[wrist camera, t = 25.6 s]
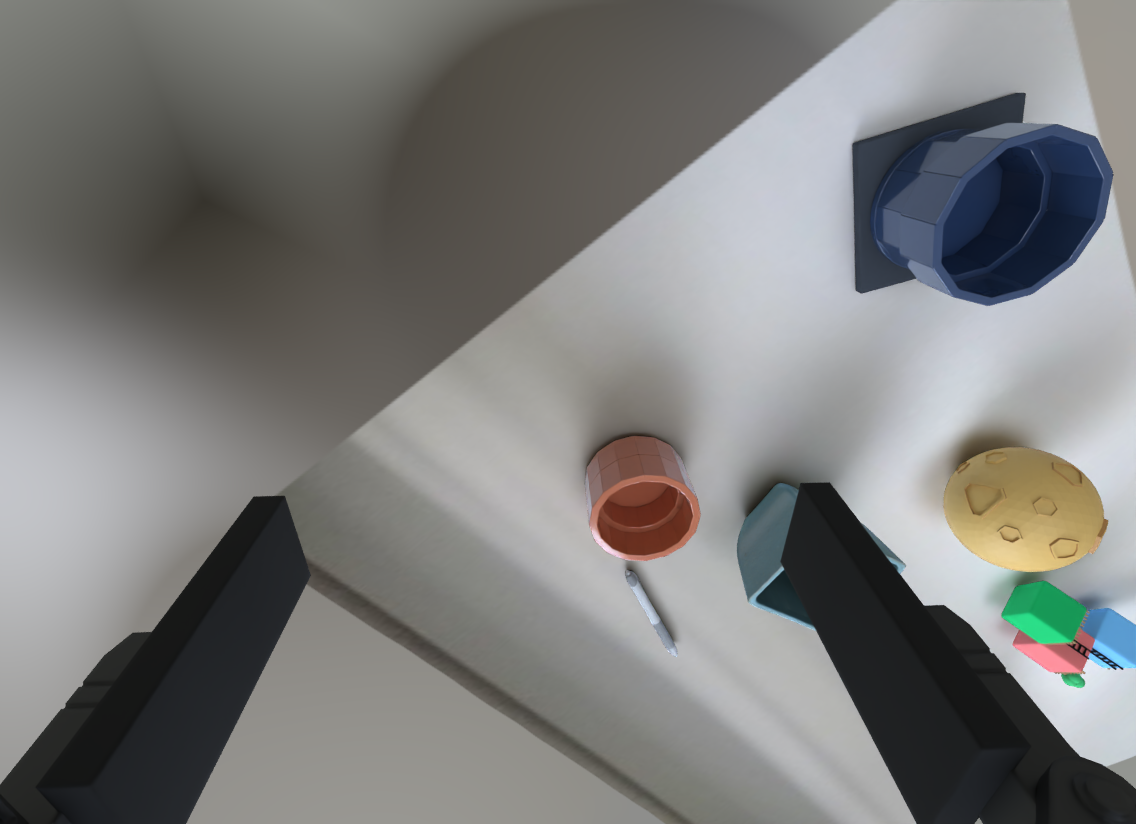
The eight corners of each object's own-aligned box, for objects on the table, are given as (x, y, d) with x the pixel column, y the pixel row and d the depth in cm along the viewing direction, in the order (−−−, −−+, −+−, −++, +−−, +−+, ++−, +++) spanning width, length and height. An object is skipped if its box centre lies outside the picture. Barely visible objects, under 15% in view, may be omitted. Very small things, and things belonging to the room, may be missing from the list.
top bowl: (864, 150, 34) (937, 159, 27) (1016, 103, 33) (1128, 102, 27) (866, 287, 38) (930, 322, 32) (1001, 249, 37) (1093, 278, 31)
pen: (630, 562, 51) (632, 573, 50) (679, 647, 58) (682, 659, 57) (620, 565, 52) (622, 577, 50) (670, 650, 58) (673, 662, 57)
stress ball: (1032, 495, 49) (1137, 578, 40) (921, 528, 51) (999, 615, 42) (1036, 407, 45) (1155, 479, 36) (914, 446, 46) (1000, 525, 37)
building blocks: (1004, 562, 60) (1119, 638, 56) (973, 621, 57) (1091, 705, 54) (1060, 548, 53) (1196, 634, 49) (1027, 615, 50) (1168, 711, 47)
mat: (852, 143, 34) (858, 143, 34) (1016, 92, 33) (1026, 92, 33) (855, 290, 39) (861, 294, 38) (999, 250, 38) (1007, 253, 37)
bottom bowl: (573, 447, 45) (577, 491, 40) (672, 420, 44) (689, 463, 39) (598, 521, 49) (605, 571, 44) (689, 498, 48) (707, 546, 43)
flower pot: (775, 455, 46) (822, 526, 38) (851, 493, 48) (910, 567, 40) (713, 525, 50) (745, 604, 42) (787, 557, 52) (830, 637, 44)
